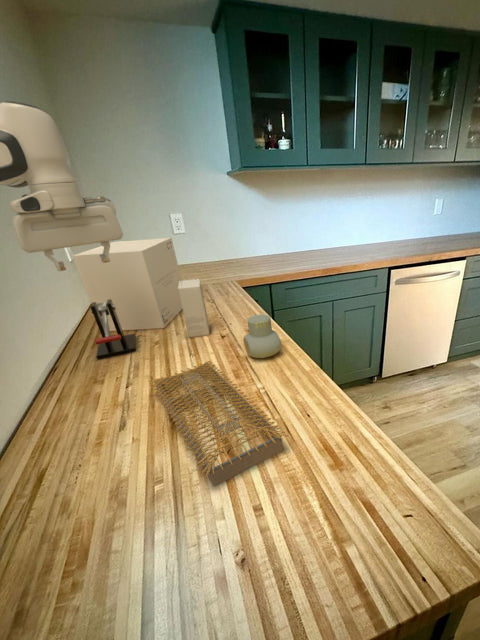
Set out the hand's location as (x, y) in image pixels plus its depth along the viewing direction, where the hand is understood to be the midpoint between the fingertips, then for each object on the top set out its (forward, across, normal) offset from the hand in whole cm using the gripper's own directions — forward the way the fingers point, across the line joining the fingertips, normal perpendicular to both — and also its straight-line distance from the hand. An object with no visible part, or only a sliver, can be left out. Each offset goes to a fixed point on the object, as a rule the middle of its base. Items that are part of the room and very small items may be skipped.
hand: (84, 266), depth 78 cm
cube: (+26, -20, -31) cm, 45 cm away
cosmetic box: (+26, -25, -2) cm, 36 cm away
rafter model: (+26, -4, +41) cm, 49 cm away
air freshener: (+26, -29, +26) cm, 47 cm away
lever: (+17, -1, -7) cm, 19 cm away
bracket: (+26, -3, -11) cm, 28 cm away
